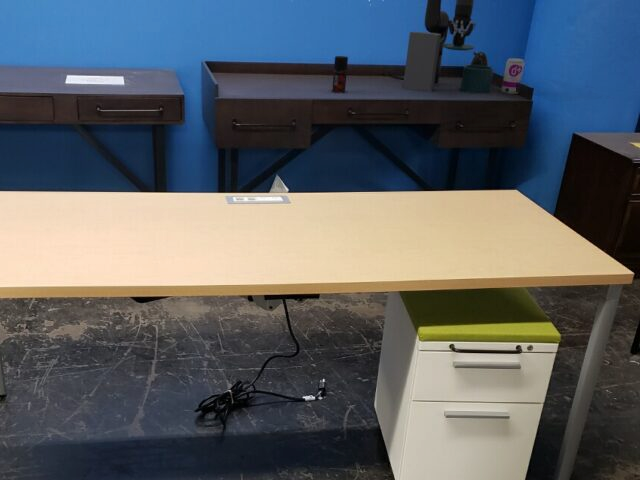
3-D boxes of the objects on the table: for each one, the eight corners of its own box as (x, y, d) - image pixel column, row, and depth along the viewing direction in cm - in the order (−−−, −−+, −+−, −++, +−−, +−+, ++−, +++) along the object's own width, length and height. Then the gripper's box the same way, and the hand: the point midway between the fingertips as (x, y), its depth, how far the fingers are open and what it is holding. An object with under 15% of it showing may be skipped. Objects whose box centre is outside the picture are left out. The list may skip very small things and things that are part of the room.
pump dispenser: (477, 81, 399) (482, 50, 391) (490, 85, 391) (496, 52, 383) (461, 82, 395) (466, 50, 388) (474, 86, 387) (479, 53, 380)
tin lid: (435, 47, 356) (437, 31, 353) (452, 45, 365) (455, 29, 362) (462, 52, 347) (465, 35, 344) (479, 49, 356) (482, 33, 353)
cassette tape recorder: (434, 90, 374) (442, 33, 361) (430, 92, 369) (438, 35, 356) (406, 87, 379) (413, 31, 366) (402, 88, 374) (409, 32, 362)
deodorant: (346, 91, 364) (349, 56, 356) (343, 93, 359) (346, 58, 351) (333, 89, 366) (336, 55, 358) (330, 92, 361) (333, 57, 353)
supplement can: (519, 94, 371) (525, 61, 363) (501, 93, 372) (507, 60, 365) (517, 91, 378) (524, 58, 370) (500, 90, 379) (506, 57, 372)
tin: (454, 90, 375) (458, 66, 369) (470, 87, 383) (474, 64, 378) (479, 95, 367) (483, 70, 361) (494, 92, 375) (499, 67, 370)
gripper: (482, 4, 345) (475, 47, 354) (456, 1, 353) (449, 43, 362) (473, 5, 340) (466, 48, 349) (446, 2, 348) (440, 44, 357)
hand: (457, 45), depth 356 cm, fingers closed on tin lid, 2 cm apart
